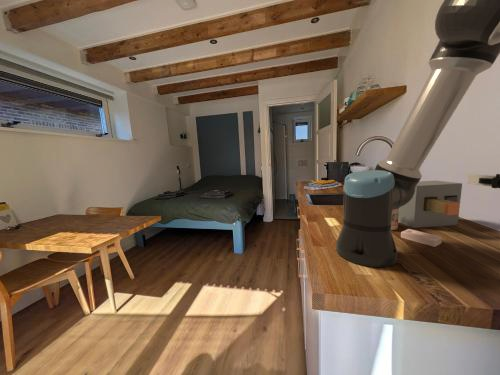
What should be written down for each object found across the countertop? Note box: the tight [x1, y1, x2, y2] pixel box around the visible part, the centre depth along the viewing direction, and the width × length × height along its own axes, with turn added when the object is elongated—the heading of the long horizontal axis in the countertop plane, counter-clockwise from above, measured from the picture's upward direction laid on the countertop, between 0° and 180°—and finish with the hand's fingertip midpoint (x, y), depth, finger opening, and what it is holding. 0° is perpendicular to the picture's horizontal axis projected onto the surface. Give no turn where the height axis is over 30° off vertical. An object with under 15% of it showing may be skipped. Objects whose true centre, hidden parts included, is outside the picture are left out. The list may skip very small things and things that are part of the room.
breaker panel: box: [398, 180, 463, 229], centre depth 79 cm, size 18×10×16 cm, turn 94°
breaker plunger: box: [424, 197, 461, 215], centre depth 71 cm, size 4×10×4 cm, turn 4°
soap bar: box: [400, 228, 443, 248], centre depth 65 cm, size 5×9×2 cm, turn 29°
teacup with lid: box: [391, 207, 400, 231], centre depth 78 cm, size 12×9×12 cm
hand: (487, 178), depth 57 cm, fingers open, 11 cm apart
